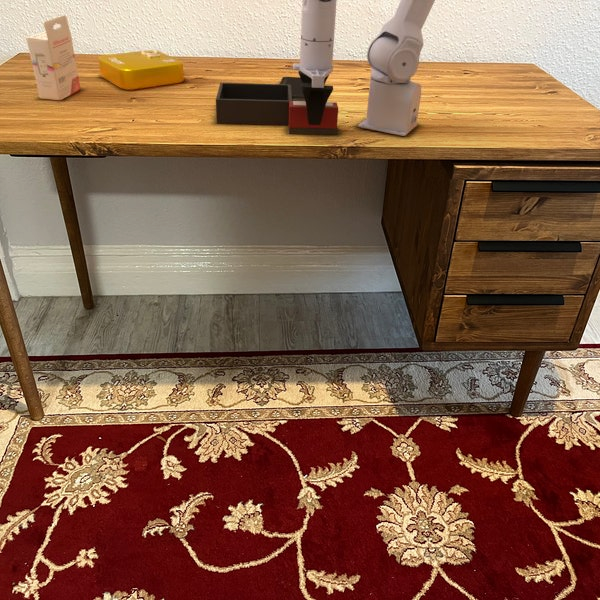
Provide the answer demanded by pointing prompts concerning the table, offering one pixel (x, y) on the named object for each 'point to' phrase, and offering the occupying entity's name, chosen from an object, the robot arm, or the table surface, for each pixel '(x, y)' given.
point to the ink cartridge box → (54, 60)
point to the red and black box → (300, 121)
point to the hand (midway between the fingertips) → (313, 117)
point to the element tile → (141, 69)
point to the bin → (253, 103)
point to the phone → (294, 87)
